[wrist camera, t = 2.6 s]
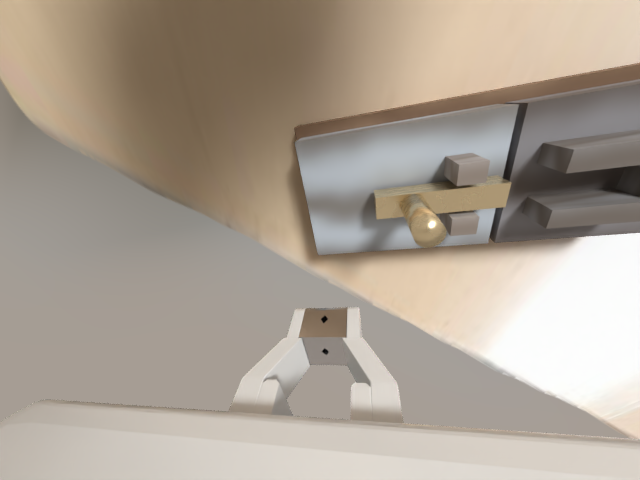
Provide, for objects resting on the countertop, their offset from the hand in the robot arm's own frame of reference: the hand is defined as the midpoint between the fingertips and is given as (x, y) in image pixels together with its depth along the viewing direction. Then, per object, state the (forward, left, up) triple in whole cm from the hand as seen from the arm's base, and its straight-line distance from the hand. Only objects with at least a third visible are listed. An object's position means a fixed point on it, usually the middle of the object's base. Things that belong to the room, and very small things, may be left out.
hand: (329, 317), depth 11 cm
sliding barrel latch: (0, +12, -19) cm, 22 cm away
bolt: (0, +8, -13) cm, 16 cm away
